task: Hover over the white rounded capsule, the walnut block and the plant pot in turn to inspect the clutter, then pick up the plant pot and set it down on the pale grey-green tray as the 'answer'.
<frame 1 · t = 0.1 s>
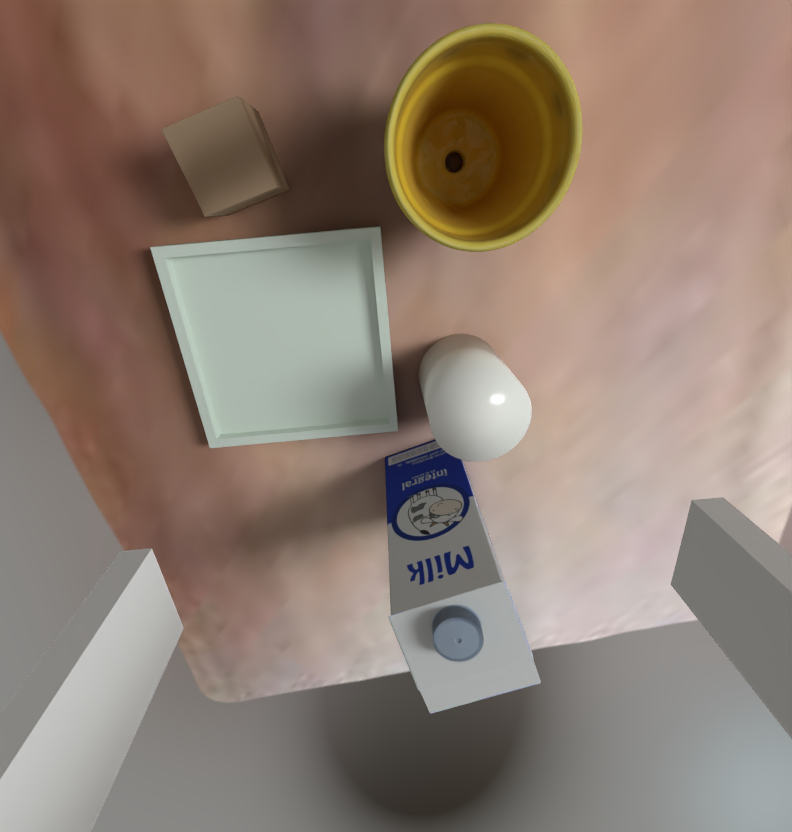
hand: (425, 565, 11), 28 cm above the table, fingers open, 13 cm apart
milk carton: (429, 472, 43), on the table
plant pot: (454, 163, 32), on the table
tray: (289, 343, 37), on the table
walnut block: (242, 165, 32), on the table
white rounded capsule: (458, 373, 39), on the table
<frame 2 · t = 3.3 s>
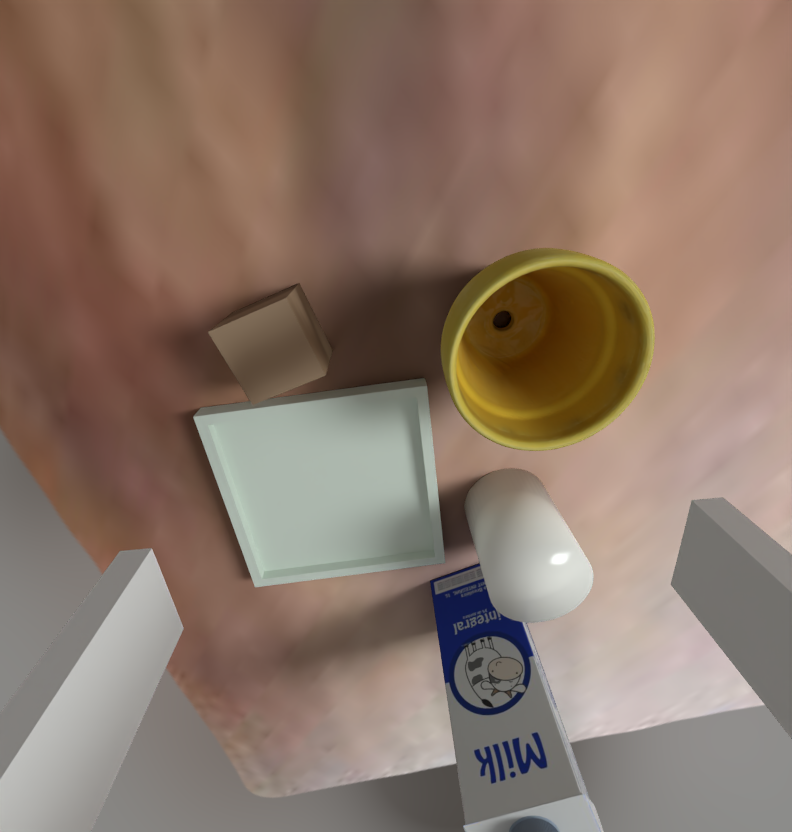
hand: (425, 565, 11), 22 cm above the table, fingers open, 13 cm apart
milk carton: (475, 591, 42), on the table
plant pot: (500, 316, 31), on the table
tray: (333, 486, 36), on the table
walnut block: (283, 331, 31), on the table
white rounded capsule: (505, 503, 38), on the table
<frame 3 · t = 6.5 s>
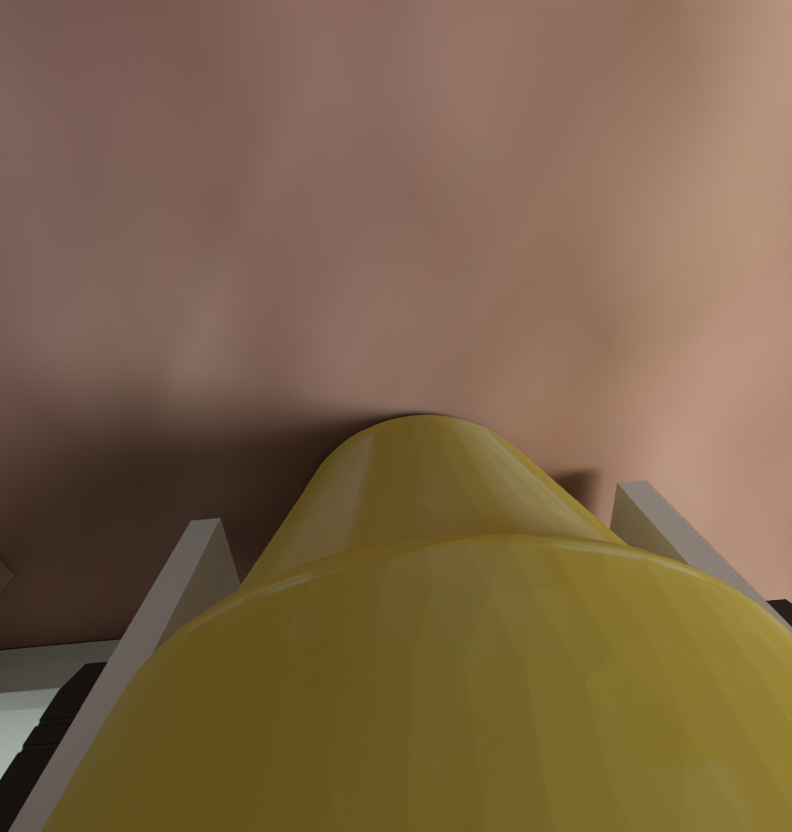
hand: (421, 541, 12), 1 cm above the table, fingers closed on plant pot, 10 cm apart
plant pot: (419, 515, 13), on the table, touching gripper
tray: (86, 791, 18), on the table
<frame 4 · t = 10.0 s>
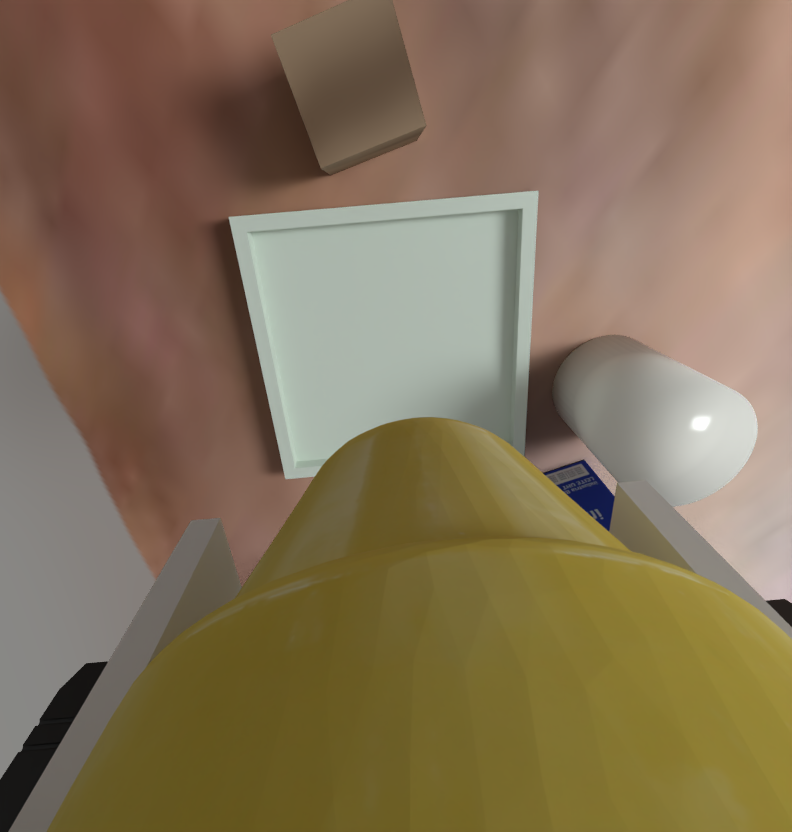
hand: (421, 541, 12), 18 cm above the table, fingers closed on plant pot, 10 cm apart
milk carton: (548, 506, 35), on the table
plant pot: (419, 517, 13), point 17 cm above the table, touching gripper
tray: (394, 346, 29), on the table
walnut block: (356, 106, 23), on the table
white rounded capsule: (603, 385, 31), on the table
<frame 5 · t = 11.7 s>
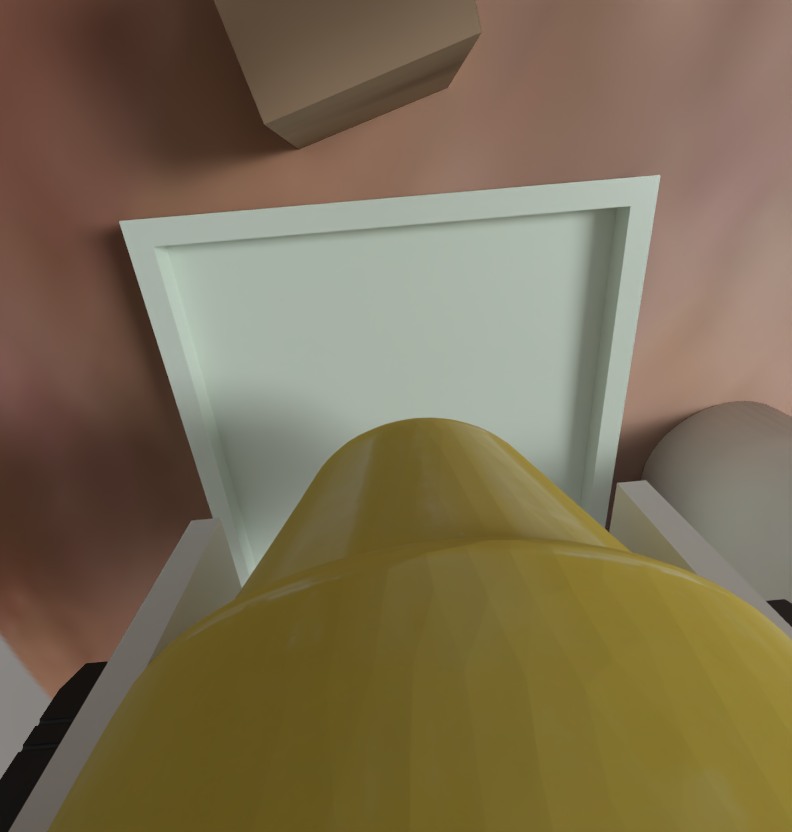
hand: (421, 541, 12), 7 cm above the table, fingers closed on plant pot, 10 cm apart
plant pot: (419, 517, 13), point 6 cm above the table, touching gripper
tray: (405, 420, 19), on the table
walnut block: (341, 23, 13), on the table
white rounded capsule: (717, 471, 20), on the table
when the fingers open (3 cm above the table, at t = 13.3 s): plant pot drops 1 cm, resting on tray.
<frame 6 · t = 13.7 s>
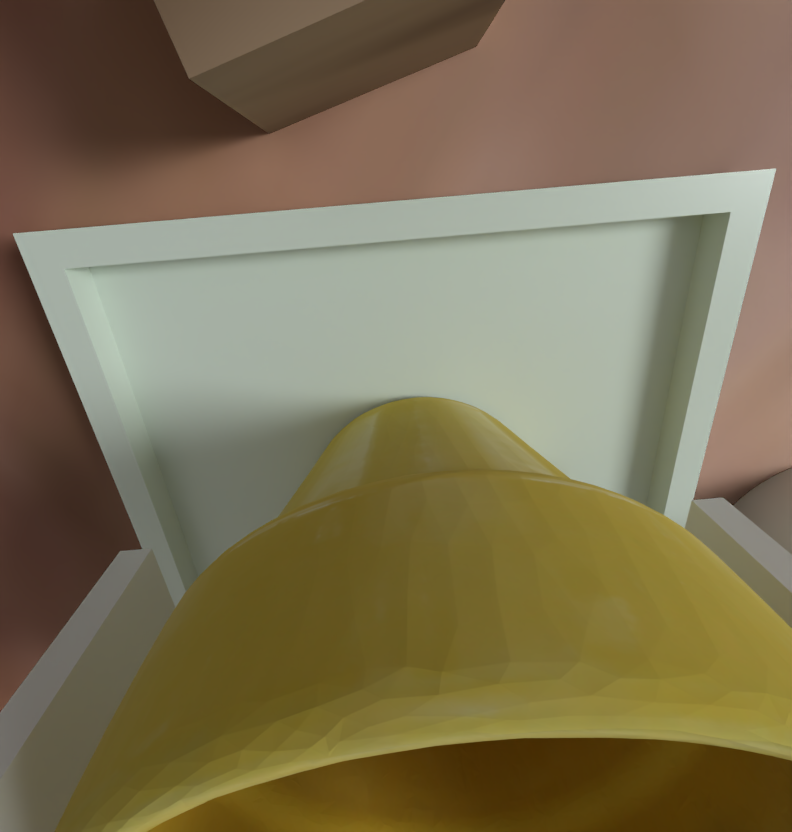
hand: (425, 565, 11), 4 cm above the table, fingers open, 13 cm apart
plant pot: (418, 491, 14), resting on tray
tray: (413, 483, 15), on the table
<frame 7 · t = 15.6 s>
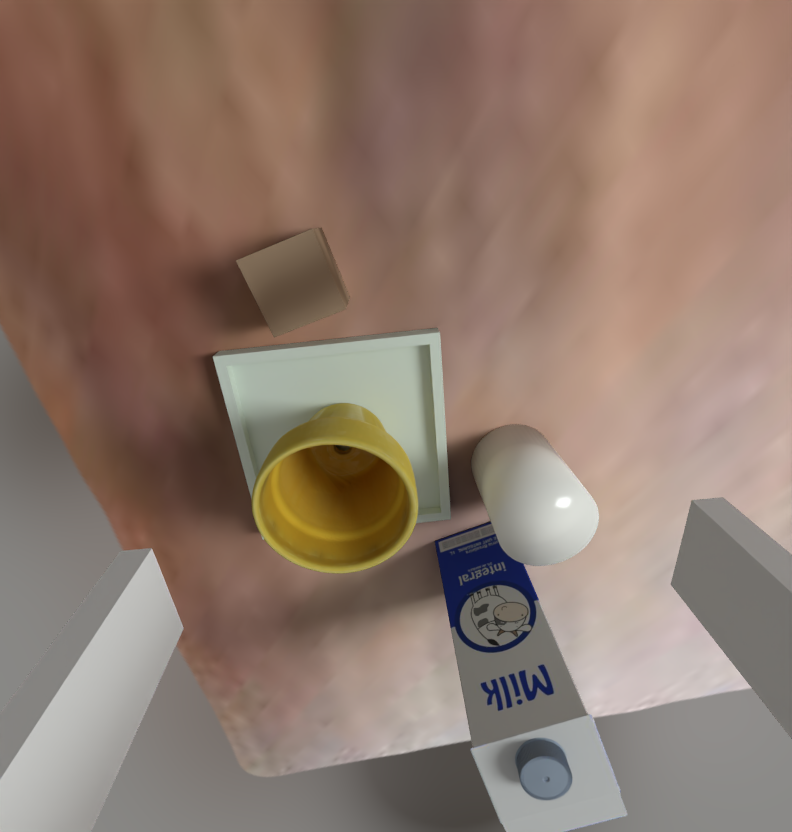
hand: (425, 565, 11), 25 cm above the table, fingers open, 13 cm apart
milk carton: (479, 553, 43), on the table
plant pot: (345, 439, 37), resting on tray
tray: (344, 437, 37), on the table
walnut block: (304, 276, 32), on the table
white rounded capsule: (511, 460, 39), on the table
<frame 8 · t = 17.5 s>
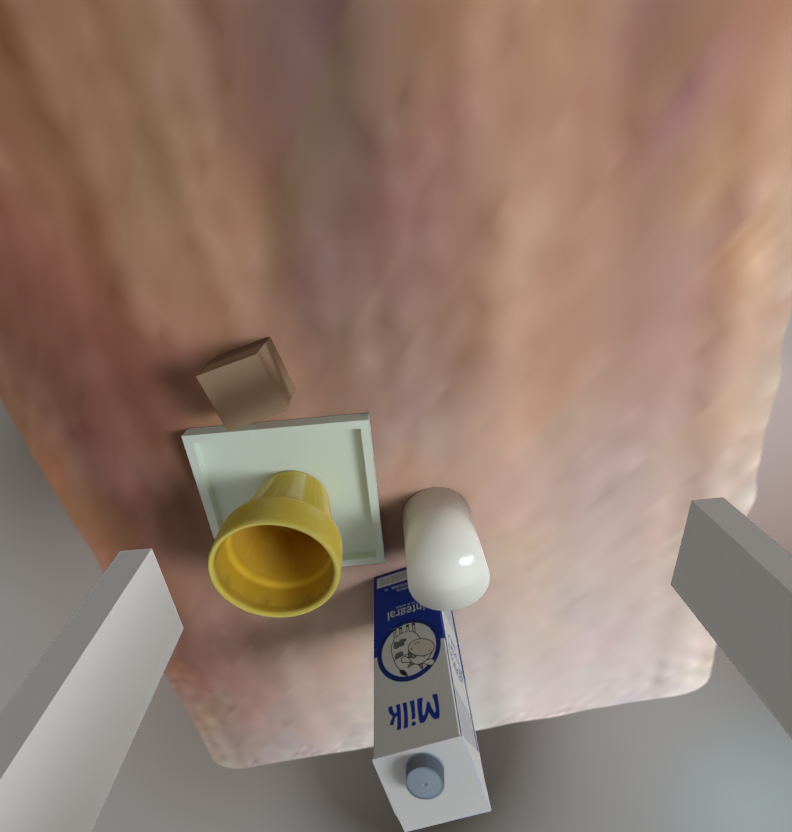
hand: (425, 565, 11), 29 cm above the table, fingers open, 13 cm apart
milk carton: (412, 588, 51), on the table
plant pot: (294, 498, 44), resting on tray
tray: (294, 495, 44), on the table
walnut block: (257, 372, 39), on the table
white rounded capsule: (435, 515, 46), on the table
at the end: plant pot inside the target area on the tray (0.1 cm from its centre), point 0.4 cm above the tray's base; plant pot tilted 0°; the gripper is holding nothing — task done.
